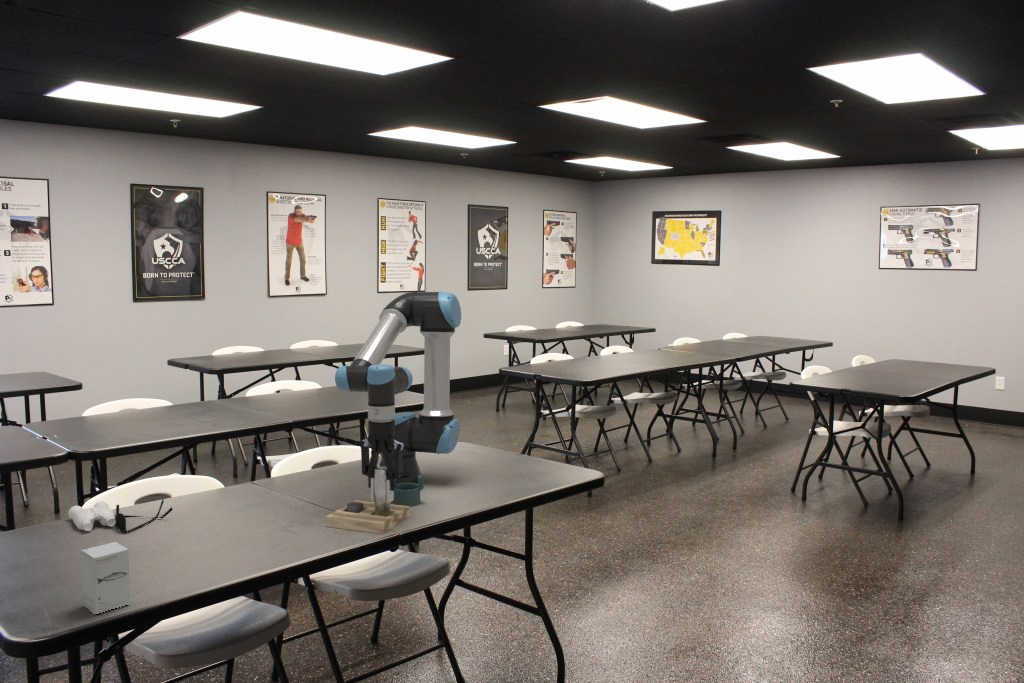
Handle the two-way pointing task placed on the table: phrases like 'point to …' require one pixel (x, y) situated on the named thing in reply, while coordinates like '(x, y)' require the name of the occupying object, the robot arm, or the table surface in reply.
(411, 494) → the bracket
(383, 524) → the jig
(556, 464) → the table surface
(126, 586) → the supplement box
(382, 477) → the metal cylinder
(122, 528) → the sunglasses
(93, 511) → the binoculars
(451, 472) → the table surface
